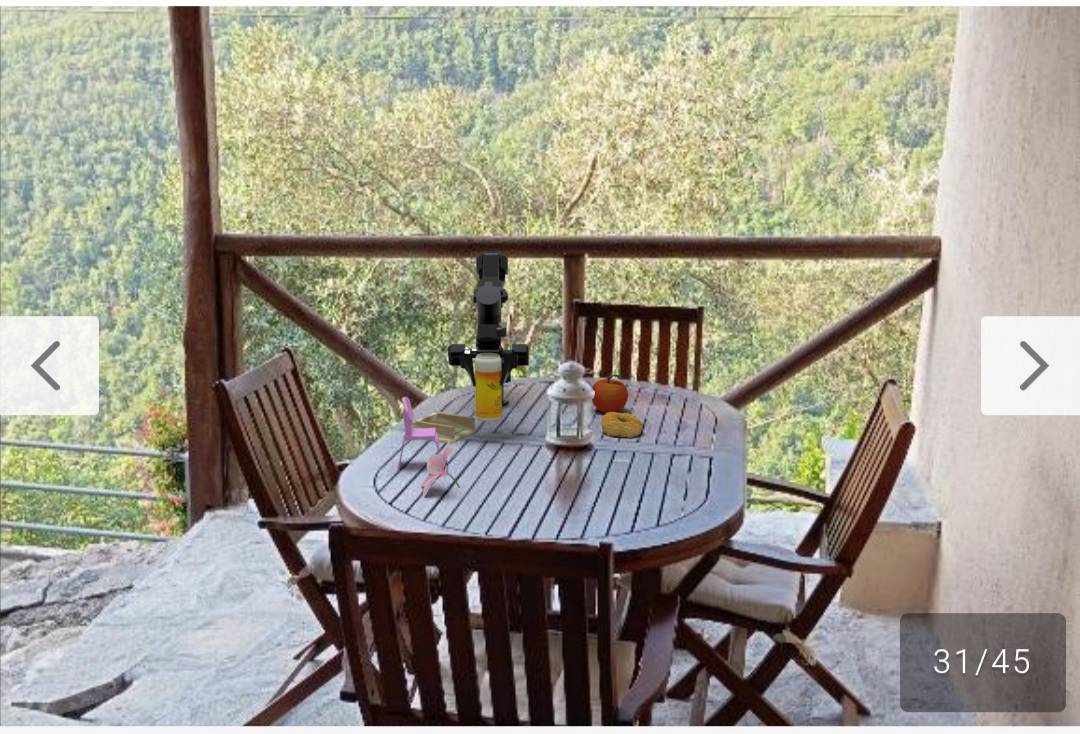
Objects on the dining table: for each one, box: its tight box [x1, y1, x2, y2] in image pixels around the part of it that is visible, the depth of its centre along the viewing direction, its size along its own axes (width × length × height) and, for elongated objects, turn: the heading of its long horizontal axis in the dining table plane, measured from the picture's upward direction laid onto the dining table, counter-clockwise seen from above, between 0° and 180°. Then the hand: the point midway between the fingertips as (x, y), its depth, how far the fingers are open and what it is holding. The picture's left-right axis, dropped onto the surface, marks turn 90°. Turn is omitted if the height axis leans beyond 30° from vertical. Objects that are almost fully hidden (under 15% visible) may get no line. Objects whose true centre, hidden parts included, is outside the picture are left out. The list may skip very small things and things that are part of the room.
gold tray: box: [411, 410, 478, 444], centre depth 254 cm, size 12×12×4 cm
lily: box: [420, 441, 461, 498], centre depth 214 cm, size 12×12×10 cm
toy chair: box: [397, 396, 440, 471], centre depth 229 cm, size 8×9×15 cm
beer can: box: [474, 353, 503, 422], centre depth 247 cm, size 6×6×15 cm
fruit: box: [591, 373, 629, 414], centre depth 274 cm, size 10×10×10 cm
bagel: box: [600, 412, 644, 439], centre depth 256 cm, size 10×11×5 cm
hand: (488, 385), depth 246 cm, fingers closed on beer can, 6 cm apart
